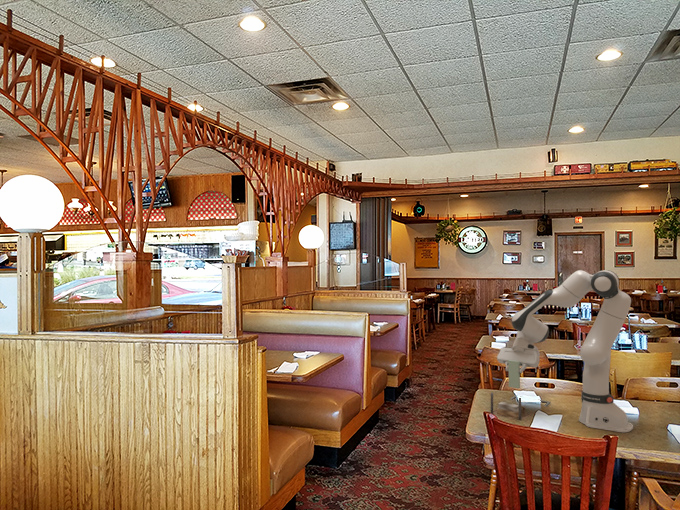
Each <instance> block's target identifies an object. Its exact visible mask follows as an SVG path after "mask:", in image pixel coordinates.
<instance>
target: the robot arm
mask: <svg viewBox="0 0 680 510" xmlns="http://www.w3.org/2000/svg"><path fill="white" fill-rule="evenodd" d="M619 286H620V277H619V275H617V273H615V272H614V271H612V270H607V269H604V270H599V271H597V272H594V273H592V274H590V273H589V272H587V271H585V270H582V269H580V270H579V269H578V270H576V271H574V272H573V273H572V274H571V275H569V276H568V277H567V278H566V279H565V280H564V281H563V282H562V283H561V284H560V285H559V286H557V287H555V288H553V289H547V290H545V291H544V292H542V293H541V294H539V295H538V296H537V297H536V298H534V299H533V300H532V301H531V302H530V303H528V304H527V305H526V306H524V307H523V308H521V309H520V310H519V311H517V312H516V313H515V314H513V316H512V318H511V325H512V328H513V329H514V330H516V331H517V333H516V337H515V339H514V340H513V343H512V347H511V346H503V347H501V348H500V349H499V352H498V354H497V356H496V359H497V362H498V363H499V364H503V365H504V364H505V366H506V367H505V371H506V372H509V368H508V360H514V361H520V366H521V367H520V368H519V370H518V372H519V373H520V374H523V373H524V371H525V370H526V369H527V367H528V368H535V369H536V368H538V367H539V364H540V355H541V353H540V350H539V348H538V347H537V346H536V345H534V344H539V343H543V342H544V341H546V340H547V338H548V336H549V333H550V330H549V326H548V325H547V324H545V323H544V322H542V321H540V320H539V319H537V318H536V317H534V316H533V314H535V313H536V312H538V310H540V309H541V308H543V307H544V306H548V305H550V306H557V307H560V308H572V307H575V306H576V305H578V304H579V302H580V301H581V300H582V299H583V298H584V297H585V296H586V295H587V294H588V293H589V292H590V291H593V292H595V293H596V294H597V295H599V296H600V297H601V298H603V302H602V304H601V307H600V309H599V311H598V313H597V316H596V318H595V320H594V322H593V325H591V328H590V330H589V332H588V333H587V336H586V337H585V340H584V341H583V343H582V345H581V347H580V350H579V351H580V352H579V355H580V359H581V360H582V362H583V363H584V364H583V371H582V390H581V392H580V393H581V396H580V398H581V399H580V400H581V411H580V415H579V416H578V417H579V418H578V422H579V423H581V424H584V425H585V426H586V427H588V428H592V429H597V430H598V429H599V430H606V431H612V432H618V433H629V432H631V431H632V430H634V425H633V424H632V423H631V422H628V421H629V420H628V415H627V413H626V412H625V410H623V409H622V408H620V406H618V405H617V404H616V403H615V402H614V398H615V395H612V394H611V393H610V370H611V369H610V368H611V358H612V357H611V356H612V347H613V345H614V343H615V341H616V339H617V338H618V336H619V335H620V331H621V330H622V327H623V325H624V323H625V321H626V319H627V316H628V314H629V312H630V308H631V304H632V298H631V297H630V295H629V294H628V293H626V292H625V291H622V290H620V288H619Z"/></svg>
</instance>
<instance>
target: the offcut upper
mask: <svg viewBox="0 0 680 510" xmlns="http://www.w3.org/2000/svg"><path fill="white" fill-rule="evenodd" d="M497 408H498V409H502V410H507V411H511V412H518V411H519V404H515V403H510V402H505V401H501V402H498V403H497Z"/></svg>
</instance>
